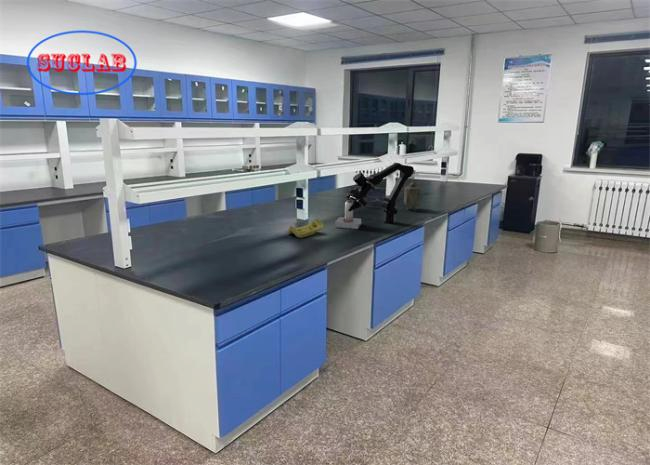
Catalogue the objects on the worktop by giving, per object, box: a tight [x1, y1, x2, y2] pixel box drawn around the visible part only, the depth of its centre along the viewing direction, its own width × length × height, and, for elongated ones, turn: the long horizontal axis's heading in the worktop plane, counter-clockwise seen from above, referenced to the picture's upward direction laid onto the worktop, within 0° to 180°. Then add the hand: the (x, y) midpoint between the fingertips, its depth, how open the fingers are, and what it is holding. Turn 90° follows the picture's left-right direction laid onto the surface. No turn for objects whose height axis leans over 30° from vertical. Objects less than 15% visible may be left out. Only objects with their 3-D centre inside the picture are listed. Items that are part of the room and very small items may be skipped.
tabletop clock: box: [403, 176, 421, 212], centre depth 316 cm, size 14×9×25 cm, turn 179°
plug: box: [344, 199, 354, 221], centre depth 262 cm, size 5×5×12 cm
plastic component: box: [287, 218, 324, 239], centre depth 243 cm, size 20×7×10 cm
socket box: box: [334, 216, 362, 230], centre depth 264 cm, size 14×14×4 cm
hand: (346, 210), depth 262 cm, fingers closed on plug, 5 cm apart
